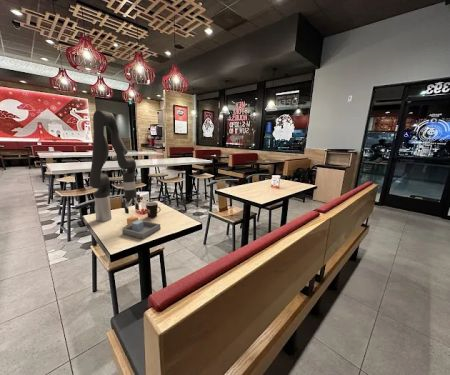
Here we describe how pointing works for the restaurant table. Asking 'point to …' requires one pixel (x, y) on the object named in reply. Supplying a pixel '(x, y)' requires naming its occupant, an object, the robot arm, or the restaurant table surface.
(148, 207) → the coffee mug
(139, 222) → the blue block
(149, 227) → the tray
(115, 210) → the restaurant table surface
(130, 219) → the orange block
